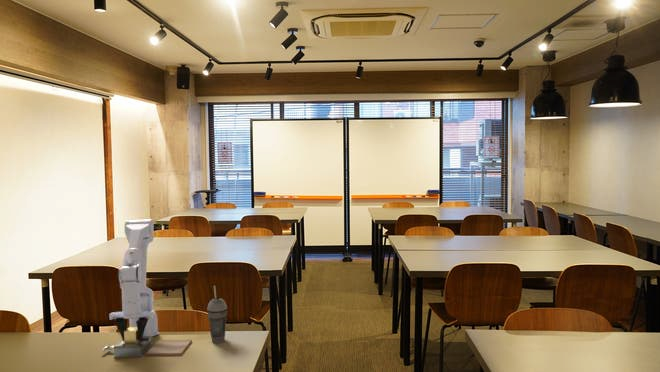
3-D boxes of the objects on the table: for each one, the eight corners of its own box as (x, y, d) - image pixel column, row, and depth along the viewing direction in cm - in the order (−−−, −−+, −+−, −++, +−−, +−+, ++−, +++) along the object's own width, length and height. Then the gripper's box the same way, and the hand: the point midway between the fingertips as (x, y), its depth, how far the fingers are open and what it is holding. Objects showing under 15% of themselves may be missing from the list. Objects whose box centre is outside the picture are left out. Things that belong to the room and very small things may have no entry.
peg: (129, 349, 164) (129, 327, 164) (141, 349, 164) (140, 326, 164) (124, 354, 161) (124, 331, 160) (136, 354, 160) (135, 331, 160)
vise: (110, 347, 167) (110, 336, 167) (151, 346, 167) (150, 335, 167) (98, 357, 158) (97, 346, 158) (141, 356, 158) (140, 345, 158)
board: (158, 342, 171) (158, 340, 171) (191, 341, 171) (191, 339, 171) (145, 356, 159) (145, 353, 159) (181, 355, 159) (181, 353, 159)
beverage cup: (216, 346, 166) (215, 290, 165) (203, 341, 171) (201, 287, 170) (232, 339, 172) (231, 285, 171) (219, 335, 176) (217, 282, 175)
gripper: (104, 304, 158) (106, 344, 158) (147, 303, 158) (149, 343, 158) (114, 298, 165) (115, 336, 165) (155, 297, 165) (157, 335, 165)
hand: (132, 339), depth 162 cm, fingers open, 5 cm apart
